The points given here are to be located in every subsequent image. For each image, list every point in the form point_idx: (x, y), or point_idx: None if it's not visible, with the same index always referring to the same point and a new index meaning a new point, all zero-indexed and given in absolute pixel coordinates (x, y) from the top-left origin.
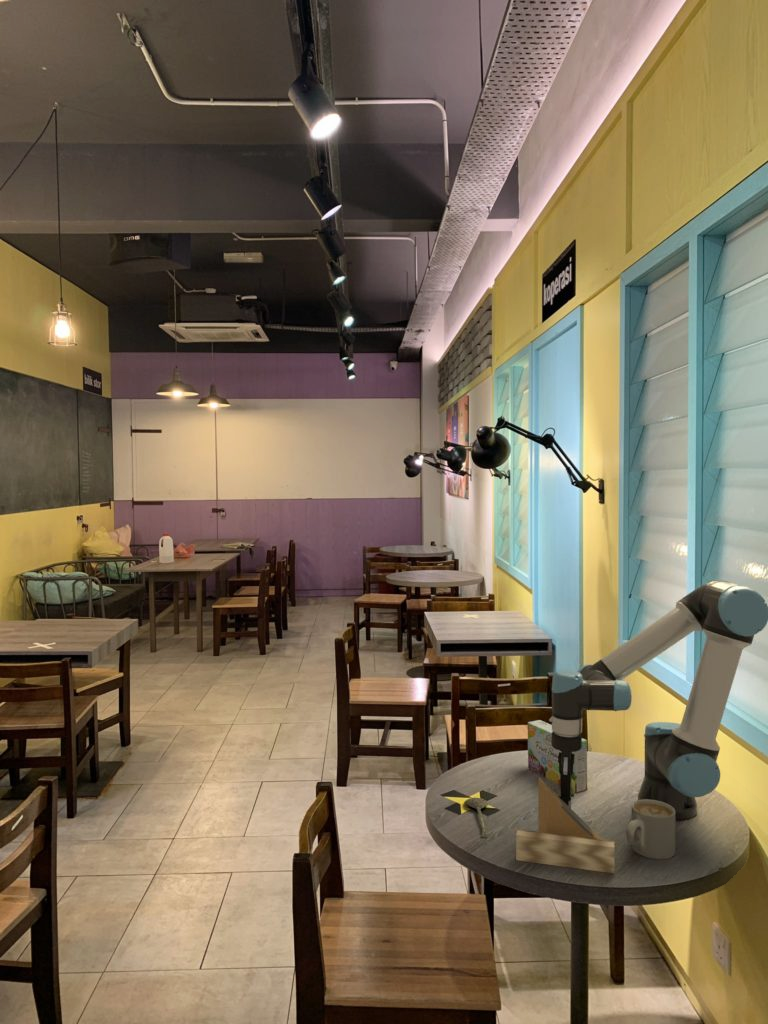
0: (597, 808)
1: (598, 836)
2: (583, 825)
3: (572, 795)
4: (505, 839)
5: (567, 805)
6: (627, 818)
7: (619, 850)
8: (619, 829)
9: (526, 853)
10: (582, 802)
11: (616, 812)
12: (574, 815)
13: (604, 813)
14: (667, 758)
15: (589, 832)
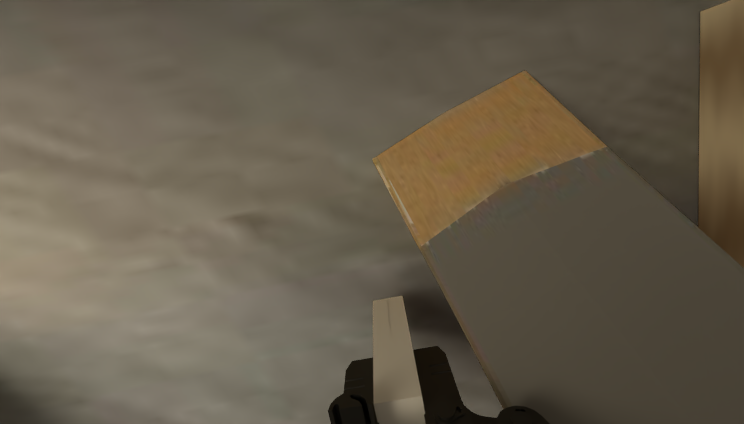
0: (65, 218)
1: (469, 137)
2: (682, 218)
3: (373, 414)
4: None
5: (628, 409)
6: (86, 38)
7: (505, 15)
8: (253, 59)
9: None
10: (43, 300)
11: (47, 113)
12: (738, 312)
13: (102, 172)
14: None
15: (634, 171)
